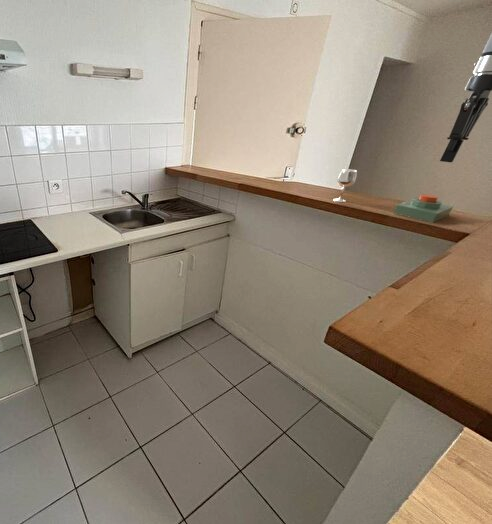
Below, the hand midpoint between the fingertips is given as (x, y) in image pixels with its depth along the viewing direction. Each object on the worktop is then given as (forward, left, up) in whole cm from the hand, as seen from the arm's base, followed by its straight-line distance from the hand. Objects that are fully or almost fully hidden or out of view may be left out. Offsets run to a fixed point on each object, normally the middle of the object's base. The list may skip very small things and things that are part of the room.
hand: (446, 161), depth 91 cm
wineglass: (+15, -20, -18) cm, 31 cm away
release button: (0, 0, -13) cm, 13 cm away
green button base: (0, 0, -18) cm, 18 cm away
